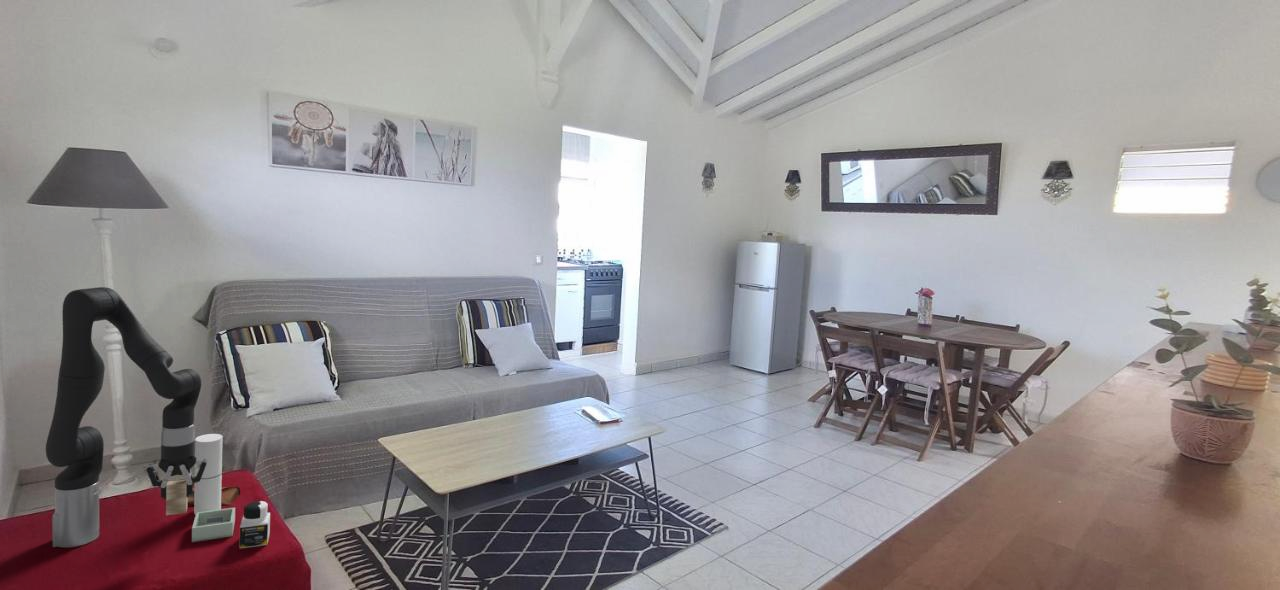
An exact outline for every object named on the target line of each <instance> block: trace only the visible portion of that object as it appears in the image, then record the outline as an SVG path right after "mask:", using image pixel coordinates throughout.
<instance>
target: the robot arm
mask: <svg viewBox="0 0 1280 590" xmlns="http://www.w3.org/2000/svg"><path fill="white" fill-rule="evenodd" d="M61 314H62V345H61V356H60V357H61V359H60V366H59V371H58V376H57V377H58V378H57V391H56V398H55V405H54V410H53V415H52V421H51V424H50V428H49V432H48V435H47V439H46V442H45V455H46V458H47V460H48V463H50V464H51V465H52V466H54V467H57V468H64V469H63V470H62V471H61V472H60V473H58V474H57V475H56V476H55V477H54V510H55V511H54V512H53V514H52V519H51V520H52V548H57V547H58V548H75V547H80V546H84V545H86V544H89V543H91V542H93V541H95V540H97V539H98V538H99V537H100V475H101V472H102V471H103V466H104V465H103V463H104V450H105V449H104V447H105V444H104V439H103V435H102V433H101V432H100V431H99V429H98V428H96V427H94V426H89V425H87V426H80V425H81V423H82V420H83V418H84V416H85V415H86V413H87V411H88V410H89V409H90V407H91V406H92V405H93V404H94V402H95V400H96V399H97V398H98V397H99V394H100V393H101V390H102V389H103V383H104V377H105V362H104V360H103V358H102V357H101V355H100V354H99V352H98V351H97V349H96V348H95V346H94V344H93V341H92V337H93V336H92V334H93V325H94V322H99V321H100V322H101V321H107V322H108V323H110V324H111V325H113V327H115V328H116V329H117V331H118V332H119V333H120V335H121V339H122V344H123V348H124V351H125V353H126V355H127V356H128V358H129V359H130V360H131V361H132V362H133V363H134V364H135V365H136V366H138V368H140V370H142V371H143V372H144V374H145V375H146V377H147V380H148V381H149V383H150V385H151V387H152V389H153V390H154V392H155V393H156V394H157V395H158V396H159V397H161V398H164V399H165V400H167V399H168V400H172V401H171V402H170V403H168V404H167V405H165V407H163V410H162V417H161V419H162V420H161V421H162V423H161V425H162V428H161V433H160V460H159V462H157V463H154V464H153V463H150V464H148V466H147V468H146V472H147V475H148V477H149V480H150V482H151V484H152V487H158V488H160V497H161V499H163V500H164V501H166V485H167V483H168V481H169V480H170V478H171V477H174V476H183V478H184V480H186V482H187V491H186V497H189V496H190V495H192V492H193V488H194V484H195V482H199V481H200V480H201V477H202V474H203V472H204V469H205V467H206V464H207V460H206V459H204V460H197V459H196V457H195V439H196V431H195V408H196V405H197V402H198V399H199V395H200V393H201V388H202V378H201V376H200V374H199V373H198V371H196V370H195V369H192V368H184V369H180V370H177V371H174V372H172V371H170V367H171V366H172V365H173V363H174V359H173V357H172V356H171V354H169V353H168V351H166V349H165V348H163V347H162V346H161V345H160V344H159V343H158V342H157V341H156V340H155V339H154V338H153V337H152V336H151V335H150V334H149V333H148V331H146V329H145V327H144V326H143V325H142V323H141V322H140V321H139V319H138V318H137V317H136V315H135V314H134V312H133V311H132V309H130V307H129V305H128V304H127V303H126V302H125V300H124V299H123V298H122V296H121V295H120V294H119V293H118V292H117V291H116V290H115V289H112V288H109V287H104V286H100V287H90V288H89V287H87V288H82V289H81V288H79V289H74V290H72V291H70V292H68V293H67V294H66V295H65V297H64V300H63V303H62V313H61ZM195 464H197V468H199V471H198V473H197V476H195V475H193V474H192V470H191V469H192V468H193V467H195ZM159 468H160V470H161V471H163V473H165V475H164V476H163V479H162V480H161V479H160V477H159V475H158V473H157V472H158V470H159Z"/></svg>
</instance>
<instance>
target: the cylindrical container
mask: <svg viewBox="0 0 1280 590" xmlns="http://www.w3.org/2000/svg"><path fill="white" fill-rule="evenodd" d="M223 437H224V436H223V435H222V434H219V433H208V434H207V433H206V434H202V435H199V436H197V437H195V452H194V455H195V457H196V459H197V460H204V459H206V460H207V464H206V467H205V469H204V472H203V474H202V477H201V480H200V481H199V482H195V483H194V488H195V489H194V507H193V513H194V514H193V515H195V516H196V513H197V512H204V511H212V510H220V509H222V505H221V487H222V480H223V479H222V476H223V475H222V474H223V473H222V472H223ZM198 471H199V468H197V464H194V477H195V476H197V473H198Z"/></svg>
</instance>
